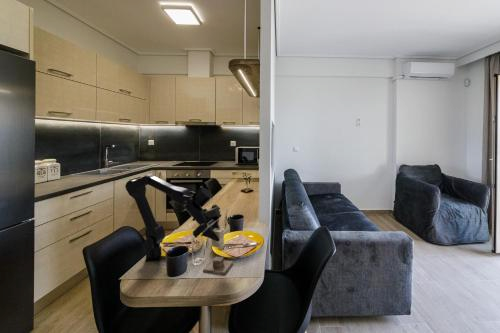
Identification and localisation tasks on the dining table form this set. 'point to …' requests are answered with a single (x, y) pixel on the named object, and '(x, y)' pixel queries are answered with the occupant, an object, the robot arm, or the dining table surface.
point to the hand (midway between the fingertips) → (220, 238)
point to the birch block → (220, 235)
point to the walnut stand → (218, 266)
